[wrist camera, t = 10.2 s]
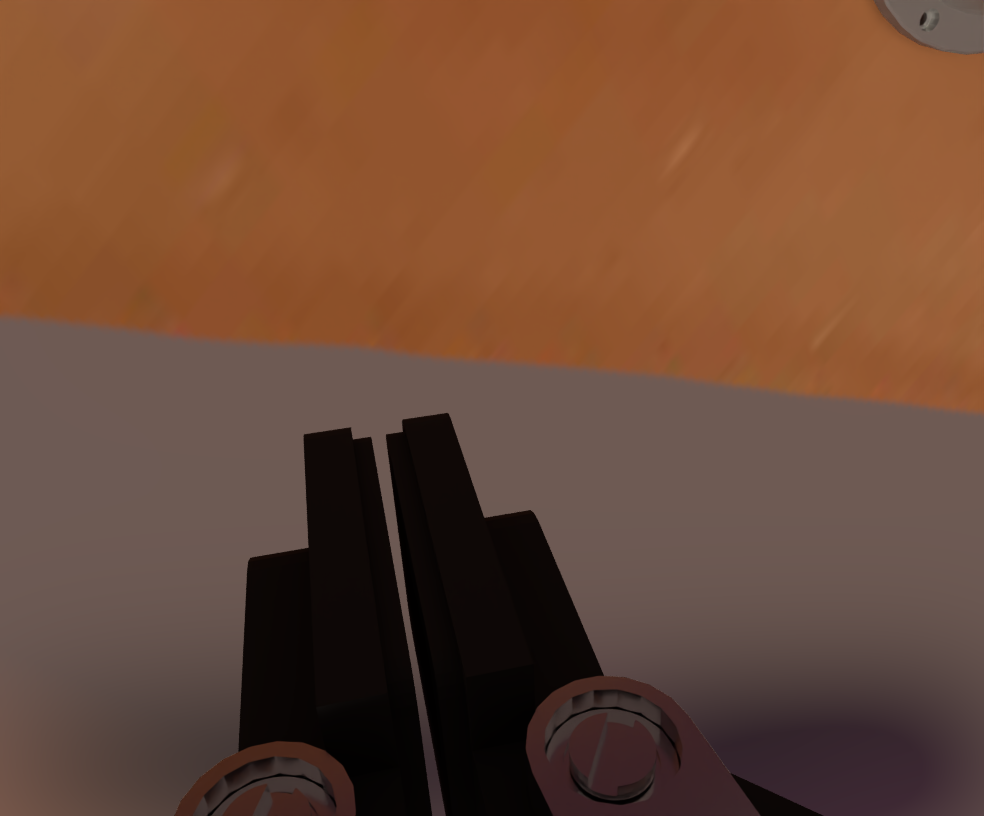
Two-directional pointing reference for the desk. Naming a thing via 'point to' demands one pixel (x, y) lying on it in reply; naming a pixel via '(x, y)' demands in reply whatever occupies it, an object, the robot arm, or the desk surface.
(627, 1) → the desk surface
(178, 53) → the desk surface
